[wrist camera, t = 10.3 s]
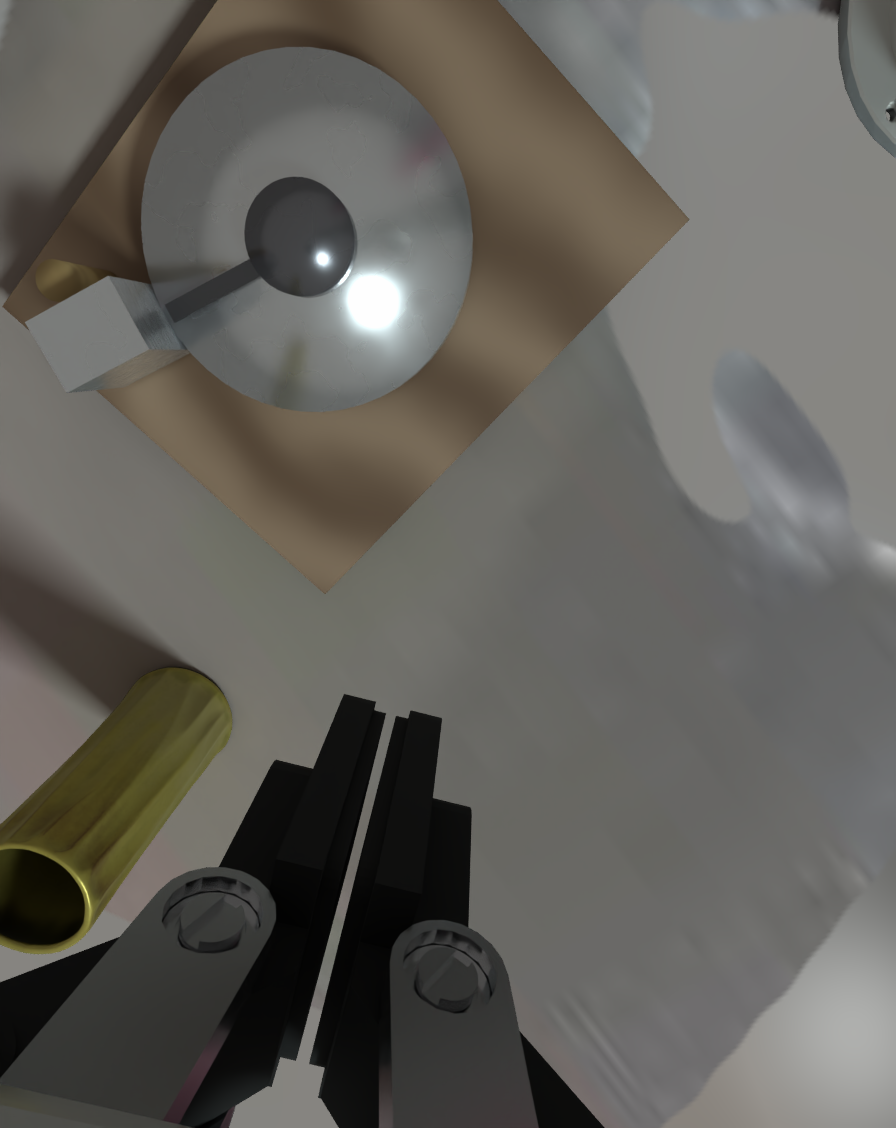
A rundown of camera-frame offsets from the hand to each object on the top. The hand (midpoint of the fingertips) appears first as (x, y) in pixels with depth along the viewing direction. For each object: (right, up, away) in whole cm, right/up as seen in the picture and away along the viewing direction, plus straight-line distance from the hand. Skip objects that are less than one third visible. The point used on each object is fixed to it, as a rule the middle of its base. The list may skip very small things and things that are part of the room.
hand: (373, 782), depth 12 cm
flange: (-6, +17, +20) cm, 27 cm away
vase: (-14, -5, +29) cm, 32 cm away
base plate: (-4, +17, +21) cm, 28 cm away
